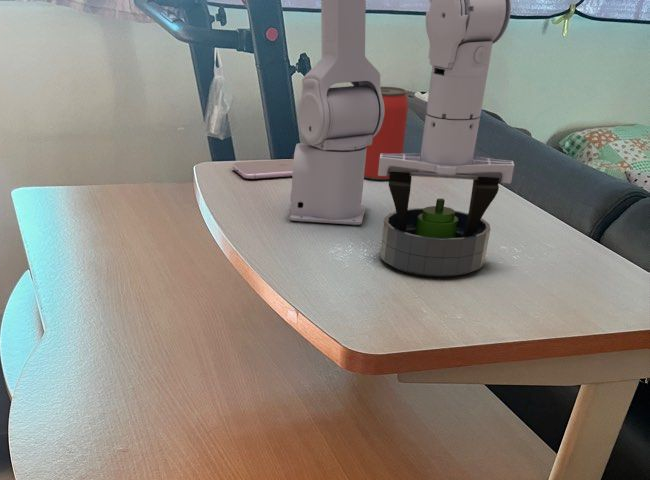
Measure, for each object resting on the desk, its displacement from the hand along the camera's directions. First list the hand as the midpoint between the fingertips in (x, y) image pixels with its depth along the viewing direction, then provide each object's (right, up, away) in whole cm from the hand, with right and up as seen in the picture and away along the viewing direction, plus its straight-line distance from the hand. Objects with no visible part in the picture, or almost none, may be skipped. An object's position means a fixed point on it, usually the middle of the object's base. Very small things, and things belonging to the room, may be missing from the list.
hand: (433, 243), depth 97 cm
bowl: (0, -2, +1) cm, 2 cm away
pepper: (0, -1, +1) cm, 2 cm away
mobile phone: (-16, +24, +34) cm, 44 cm away
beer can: (-1, +22, +33) cm, 40 cm away
